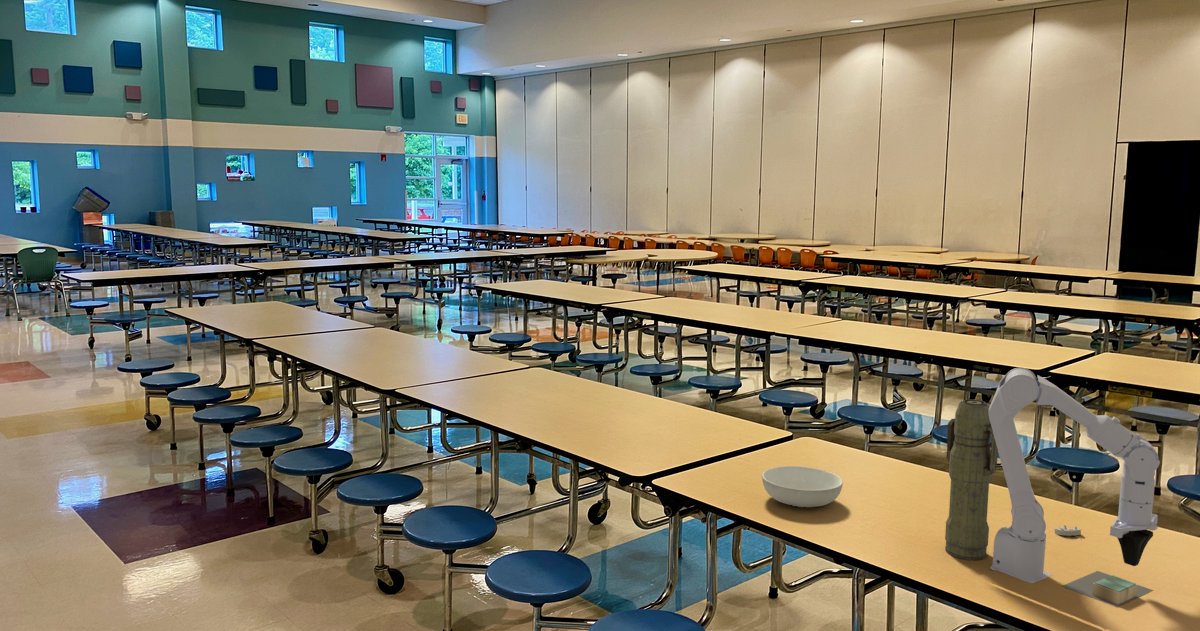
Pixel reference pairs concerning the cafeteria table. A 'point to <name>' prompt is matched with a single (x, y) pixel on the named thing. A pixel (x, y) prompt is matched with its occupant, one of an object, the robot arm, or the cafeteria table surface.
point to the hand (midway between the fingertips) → (1131, 563)
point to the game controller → (1067, 531)
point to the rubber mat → (1086, 582)
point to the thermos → (969, 479)
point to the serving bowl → (802, 485)
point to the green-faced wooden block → (1114, 589)
